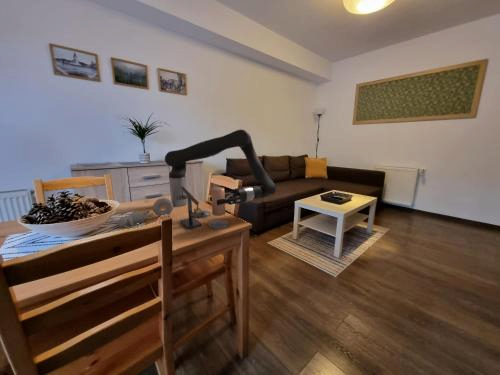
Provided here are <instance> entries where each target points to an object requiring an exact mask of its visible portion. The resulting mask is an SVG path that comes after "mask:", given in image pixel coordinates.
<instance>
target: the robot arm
mask: <svg viewBox="0 0 500 375" xmlns="http://www.w3.org/2000/svg"><path fill="white" fill-rule="evenodd" d="M238 147H239V148H240V149H241V151H242V152H243V154H244V156H245V158H246V162H247V164H248V166H249V167H248V168H249V169H250V172H251V174H252V176H253V178H254V180H255V182H258V183H259V182H260V183H261V185H251V186H243V187H238V188H234V189H233V190H232V192H225V199H220V200H217V205H221V204H225V205H228V206H229V205H237V204H242V203H247V202H250V201H252V200H257V199H264V198H268V197H270V196H272V195H275V194H276V192H277V187H276V186H277V185H276V184H275V182H274V181H273V180H272V179H271V177H270V176H269V175H268V174H267V172H266V170H265V168H264V167H263V164H262V162H261V160H260V159H259V156H258V155H257V153H256V149H255V147H254V144H253V141H252V138H251V134H250V133H249V132H248V131H246V130H245V129H236V130H235V131H232V132H230V133H228V134H227V133H226V134H225V135H222V136H218V137H214V138H211V139H207V140H204V141H201V142H198V143H195V144H192V145H190V146H188V147H186V148H181V149H176V150H171V151H168V152H167V153H166V154H165V156H164V162H165V163H166V165H168V166H169V167H171V171H170V172H169V173H168V176H169V177H168V178H169V188H170V201H171V202H172V203H173V207H182V206H185V205H188V200H187V199H183V200H179V199H177V198H176V197H177V196H180V195H182V190H181V187H184V188H185V189H186V190H187V183H186V181H187V180H186V173H187V162H190V161H196V160H203V159H206V158H210V157H214V156H216V155H218V154H220V153H222V152H224V151H226V150H228V149H232V148H238ZM183 195H186V194H185V193H184V192H183ZM209 202H211V203H212V196H210V197H209Z"/></svg>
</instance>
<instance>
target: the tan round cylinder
mask: <svg viewBox="0 0 500 375" xmlns="http://www.w3.org/2000/svg"><path fill="white" fill-rule="evenodd" d="M210 193H211V196H210V197H212V202H211V210H212V211H211V212H212V214H211V215H213V216H214V217H220V216H224V215H226V204H221V205H217V200H220V199H225V187H222V186H221V187H220V186H217V187H215V186H214V187H212V188H211V189H210Z"/></svg>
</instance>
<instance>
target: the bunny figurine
mask: <svg viewBox="0 0 500 375" xmlns="http://www.w3.org/2000/svg"><path fill="white" fill-rule="evenodd" d="M154 214H155V213H153V212H152V213H150V210H146V211H144V212H140V211H133V212H130V214H128V215H125V216H122V217H120V218H119V219H118V220H117V221H116V224H117V226H118V227H120V228H126V227H125V226H128V225H129V226H134V225H138V224H137V223H140V224H142V223H143V222H144V220H145V219H146V218H152V217H154V216H155V215H154ZM129 226H128V227H129Z"/></svg>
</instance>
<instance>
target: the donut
mask: <svg viewBox="0 0 500 375" xmlns="http://www.w3.org/2000/svg"><path fill="white" fill-rule="evenodd" d="M163 205H165V207H166V208H165V209H163V210H162V209H161V208H160V207H161V206H163ZM173 210H174V206H173V203H172V202H171V199H169V198H166V197H161V198H159V199H157V200H155V202H154V203H153V205H152V211H153V212H154V213H153V214H155V215H156V216H158V217H160V216H161V215H165V214H168V216H169V215H171V214H172V212H173Z"/></svg>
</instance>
